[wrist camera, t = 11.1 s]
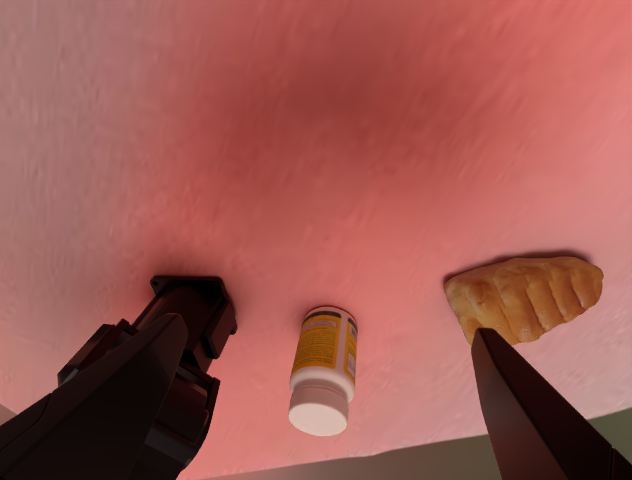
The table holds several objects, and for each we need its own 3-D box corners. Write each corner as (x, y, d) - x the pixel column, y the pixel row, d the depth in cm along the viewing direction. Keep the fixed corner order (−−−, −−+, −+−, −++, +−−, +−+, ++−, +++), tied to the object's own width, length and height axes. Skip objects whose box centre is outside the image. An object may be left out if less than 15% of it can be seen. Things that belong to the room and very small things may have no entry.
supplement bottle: (293, 325, 29) (269, 419, 22) (322, 296, 27) (304, 390, 20) (337, 350, 30) (326, 447, 23) (369, 323, 28) (367, 423, 21)
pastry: (578, 225, 21) (616, 261, 17) (599, 296, 23) (635, 339, 20) (434, 276, 24) (443, 313, 21) (466, 332, 27) (479, 373, 24)
